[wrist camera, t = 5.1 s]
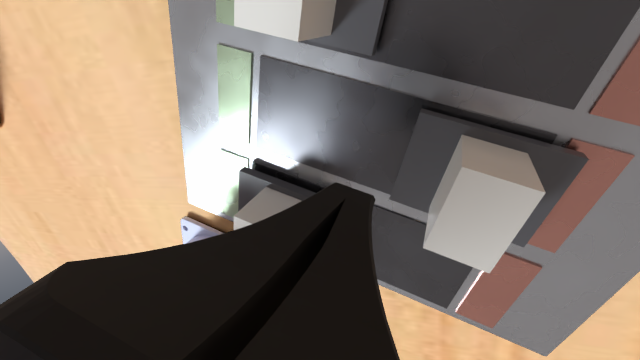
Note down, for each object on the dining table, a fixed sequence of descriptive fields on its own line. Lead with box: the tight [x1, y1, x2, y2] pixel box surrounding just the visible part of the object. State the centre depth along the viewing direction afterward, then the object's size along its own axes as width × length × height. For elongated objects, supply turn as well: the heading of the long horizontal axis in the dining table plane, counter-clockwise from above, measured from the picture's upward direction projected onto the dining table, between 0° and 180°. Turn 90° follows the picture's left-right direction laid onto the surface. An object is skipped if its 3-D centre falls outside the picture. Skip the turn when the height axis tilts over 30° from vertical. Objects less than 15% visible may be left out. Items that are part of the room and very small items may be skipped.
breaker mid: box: [389, 108, 589, 274], centre depth 12 cm, size 4×6×4 cm
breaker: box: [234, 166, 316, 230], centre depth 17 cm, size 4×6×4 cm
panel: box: [168, 0, 640, 356], centre depth 15 cm, size 18×24×2 cm
